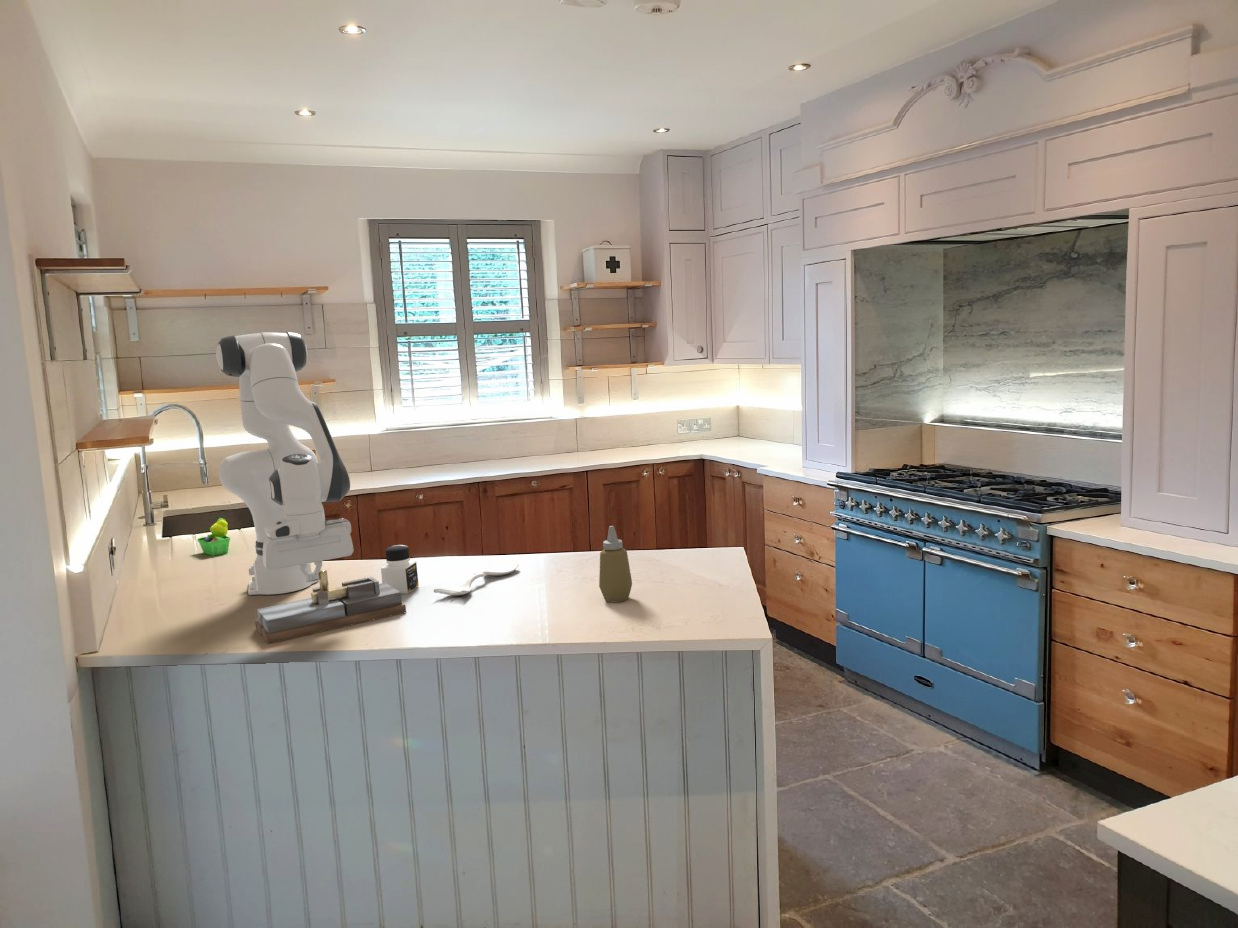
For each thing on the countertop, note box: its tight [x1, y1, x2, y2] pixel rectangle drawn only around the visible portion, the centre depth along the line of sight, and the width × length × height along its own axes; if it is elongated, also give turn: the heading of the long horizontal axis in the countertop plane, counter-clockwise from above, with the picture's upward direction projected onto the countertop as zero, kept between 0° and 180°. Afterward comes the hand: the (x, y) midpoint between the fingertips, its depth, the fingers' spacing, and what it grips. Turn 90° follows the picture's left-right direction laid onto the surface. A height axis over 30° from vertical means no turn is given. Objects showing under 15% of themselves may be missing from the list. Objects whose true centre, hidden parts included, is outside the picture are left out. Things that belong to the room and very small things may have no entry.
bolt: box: [310, 569, 350, 603], centre depth 214 cm, size 2×10×7 cm, turn 123°
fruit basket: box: [197, 517, 231, 557], centre depth 303 cm, size 11×9×11 cm
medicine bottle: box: [380, 544, 420, 595], centre depth 237 cm, size 7×7×12 cm
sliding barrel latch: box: [254, 576, 407, 644], centre depth 214 cm, size 14×32×8 cm, turn 123°
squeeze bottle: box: [598, 525, 633, 603], centre depth 215 cm, size 8×8×18 cm
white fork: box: [433, 560, 519, 596], centre depth 239 cm, size 9×32×4 cm, turn 157°
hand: (312, 580), depth 212 cm, fingers closed
